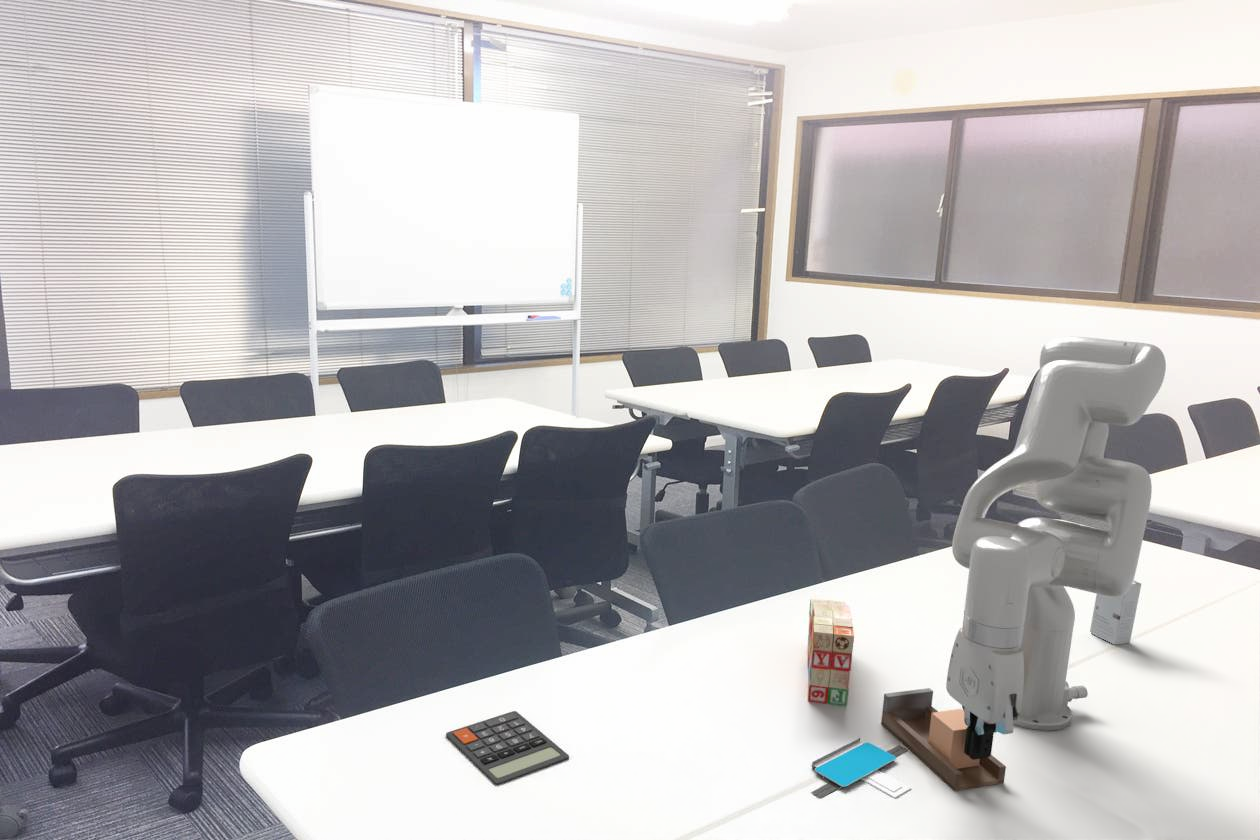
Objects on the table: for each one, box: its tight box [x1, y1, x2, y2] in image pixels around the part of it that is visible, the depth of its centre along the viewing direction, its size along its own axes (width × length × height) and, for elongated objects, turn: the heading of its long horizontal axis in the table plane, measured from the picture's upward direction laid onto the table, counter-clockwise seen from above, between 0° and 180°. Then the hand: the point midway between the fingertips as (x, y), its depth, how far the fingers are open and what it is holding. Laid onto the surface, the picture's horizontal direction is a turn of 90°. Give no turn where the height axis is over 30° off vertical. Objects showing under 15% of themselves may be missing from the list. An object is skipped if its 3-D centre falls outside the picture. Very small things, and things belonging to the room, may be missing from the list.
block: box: [928, 708, 980, 769], centre depth 131 cm, size 5×5×6 cm
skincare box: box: [1089, 579, 1142, 645], centre depth 176 cm, size 6×4×12 cm
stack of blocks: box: [807, 598, 855, 707], centre depth 157 cm, size 21×6×12 cm, turn 170°
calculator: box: [445, 710, 570, 786], centre depth 132 cm, size 12×1×15 cm
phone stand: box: [810, 737, 912, 799], centre depth 129 cm, size 20×12×2 cm, turn 130°
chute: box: [880, 687, 1007, 792], centre depth 135 cm, size 8×18×5 cm, turn 17°
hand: (977, 755), depth 127 cm, fingers closed
